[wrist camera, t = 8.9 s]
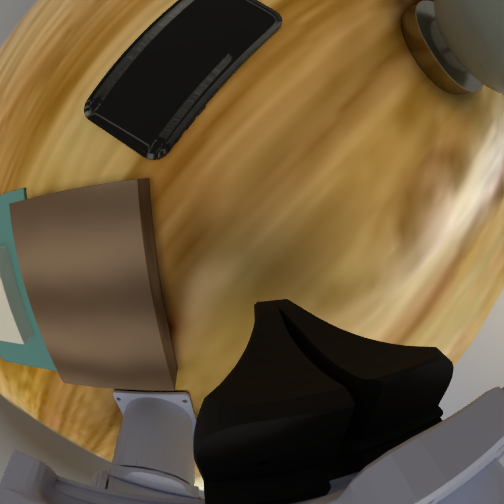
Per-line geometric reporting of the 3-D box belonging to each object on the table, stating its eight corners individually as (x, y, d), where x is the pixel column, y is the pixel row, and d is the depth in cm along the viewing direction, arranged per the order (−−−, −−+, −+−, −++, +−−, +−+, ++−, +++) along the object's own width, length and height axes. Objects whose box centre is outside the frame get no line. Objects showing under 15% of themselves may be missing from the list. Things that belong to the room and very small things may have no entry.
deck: (177, 367, 22) (174, 390, 19) (74, 363, 20) (63, 382, 18) (148, 178, 17) (137, 179, 14) (30, 198, 16) (9, 203, 13)
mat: (73, 370, 21) (72, 372, 20) (3, 358, 19) (2, 359, 19) (25, 187, 16) (23, 188, 15) (-40, 209, 14) (-42, 209, 14)
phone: (78, 112, 14) (209, -23, 12) (84, 115, 15) (208, -16, 13) (157, 166, 16) (289, 19, 14) (161, 167, 18) (285, 26, 15)
